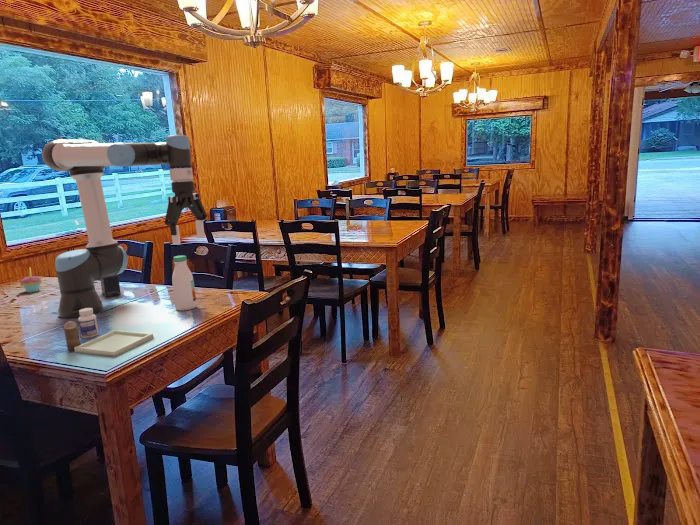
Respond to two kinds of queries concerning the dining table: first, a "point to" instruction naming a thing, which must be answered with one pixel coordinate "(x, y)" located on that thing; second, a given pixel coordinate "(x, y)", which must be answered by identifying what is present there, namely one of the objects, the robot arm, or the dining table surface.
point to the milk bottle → (183, 285)
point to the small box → (110, 286)
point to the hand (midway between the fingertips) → (189, 241)
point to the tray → (114, 343)
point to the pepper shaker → (72, 335)
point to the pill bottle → (88, 323)
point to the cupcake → (31, 283)
